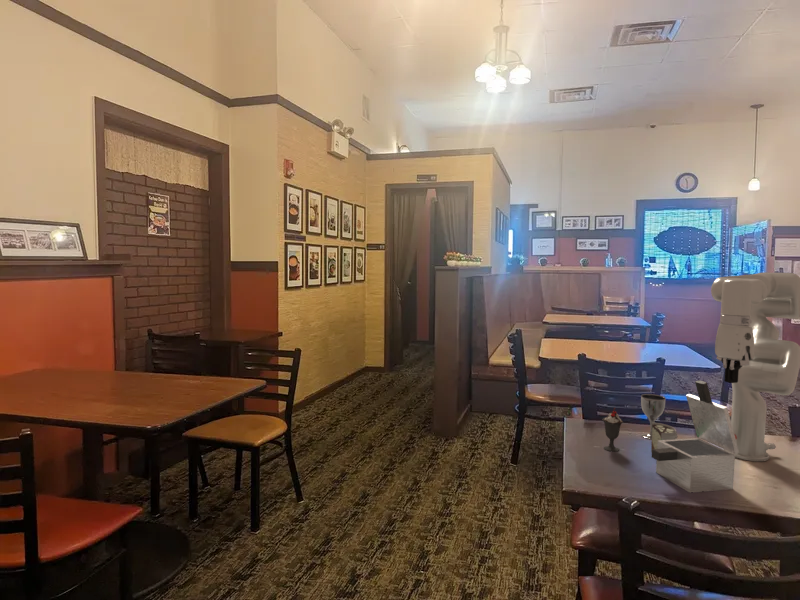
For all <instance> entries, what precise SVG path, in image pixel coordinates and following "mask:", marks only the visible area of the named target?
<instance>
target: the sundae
mask: <svg viewBox="0 0 800 600" xmlns="http://www.w3.org/2000/svg"><path fill="white" fill-rule="evenodd" d="M601 420H602V421H603V423H604V424H603V425H604V431H605V436H606V437H607V439H609V443H608V445H607V446H603V450H605V451H607V452H611V451H612V453H617V452H620V449H619V447H615V443H614V440H616V439H617V438H618V437H619V435H620V429H621V426H622V424H624V421H623V420H622V419H621V418H620V416H619V414H618V413H617V411H616V407H613V410H612V411H611V412H609V413H608V415H607V416H606V417H605V416H604V417H602V419H601Z"/></svg>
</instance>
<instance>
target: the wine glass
mask: <svg viewBox="0 0 800 600" xmlns="http://www.w3.org/2000/svg"><path fill="white" fill-rule="evenodd" d="M640 396H641V397H640V404H641V405H640V406H641V409H642V412H643V413H644V415H645V416H646V417H647V419H648V421H649V424H650V426H649V427H650V429H649V433H642V435H641V434H640V437H641V436H642V437H641V438H643V437H644V438H643V439H645V438H647V439H646V440H649V439H650V440H649V441H652V428H651V426H652V422H654V423H655V421H656V420H657V419H658V418H659V417H660V416H662V414H663V413H664V410H665V407H666V397H665V396H663V395H659V394H654V393H652V394H651V393H644V394H641V395H640Z"/></svg>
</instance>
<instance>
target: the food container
mask: <svg viewBox="0 0 800 600" xmlns="http://www.w3.org/2000/svg"><path fill="white" fill-rule="evenodd" d="M651 428H652V440H651V448H650V449H651V450H650V452H651V453H652V449H657V443H658V440H674V439H677V438H678V433H677V430H676V428H675V427H674V426H671V425H668V424H664V423H661V422H655V421H654V422H652V426H651Z"/></svg>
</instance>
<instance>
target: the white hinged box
mask: <svg viewBox="0 0 800 600" xmlns="http://www.w3.org/2000/svg"><path fill="white" fill-rule="evenodd" d="M651 458H652V459H655V460H656V464H655V473H657V474H658V475H660V477H662V478H665V479H666V480H668V481H670V483H672V484H675V485H676V486H678V487H679V488H681V489H683V490H685V491H686V492H687V493H690V494H691V492H693V493H703V492H702V491H704V492H712V491H713V492H714V491H726V490H734V477H735V462H736V461H735V460H736V459H735V458H736V457H735V455H734V454H732V453H730V452H728V451H725V450H724V449H723V448H720V447H718V446H716V445H714V444H711V443H709V442H707V441H705V440H703V439H700V438H698V437H694V438H691V437H690V438H678V439H677V438H676V439H674V440H658V443H657V449H652V452H651Z"/></svg>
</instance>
